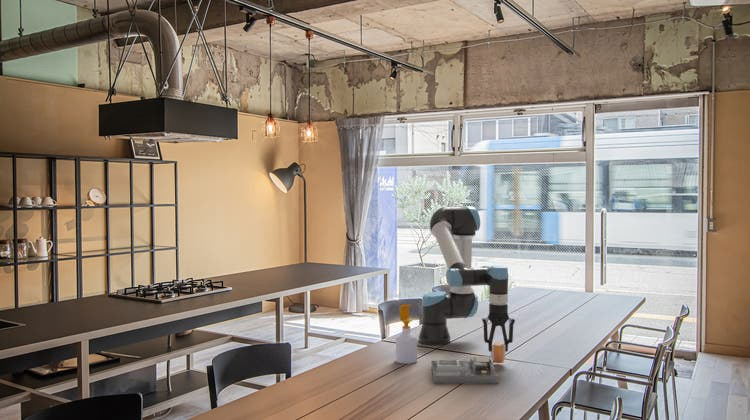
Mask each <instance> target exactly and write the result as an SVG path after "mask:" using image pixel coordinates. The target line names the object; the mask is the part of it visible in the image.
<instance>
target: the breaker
mask: <svg viewBox="0 0 750 420" xmlns="http://www.w3.org/2000/svg"><path fill="white" fill-rule="evenodd" d="M489 357H490V356H489V355H484V356H483V355H482V356H480V355H479V356H478V355H476V356H474V357H473V359H474V361H475V363H487V362H489Z"/></svg>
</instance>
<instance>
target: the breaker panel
mask: <svg viewBox="0 0 750 420" xmlns="http://www.w3.org/2000/svg"><path fill="white" fill-rule="evenodd" d="M473 358H474V357H473V355H469V360H459V359H436V360H431V363H430V364H431V373H432V377H433V382H434V384H441V385H442V384H451V385H452V384H453V385H454V384H459V385H460V384H462V385H463V384H466V385H467V384H469V385H470V384H471V385H472V384H473V385H474V384H475V383H476V384H477V383H478V384H479V383H480V384H482V385H484V384H485V383H492V384H493V383H497V384H498V385H499V384H500V383H499V380H500V379H499V377H500V376H499V374H498V372H497V370H496V368H495V367H494V365H493V364H494V362H493V361H492V359H491V356H489V362H487V363H475V361H474V359H473ZM497 384H496V385H497ZM493 385H494V384H493Z"/></svg>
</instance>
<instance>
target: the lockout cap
mask: <svg viewBox="0 0 750 420" xmlns="http://www.w3.org/2000/svg"><path fill="white" fill-rule="evenodd" d="M493 344H494V360H492V359H491V361H492V363H493V364H494V363H495V364H503V363H504V361H505V360H503V350H504V346H503V344H502V343H500V342H499V343H498V342H497V343H493Z"/></svg>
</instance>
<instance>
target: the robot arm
mask: <svg viewBox="0 0 750 420" xmlns="http://www.w3.org/2000/svg"><path fill="white" fill-rule="evenodd" d="M480 227H481V218H480V214H479V212H478V210H477V208H476V207H474V206H467V205H464V206H443V207H439V208H438V209H436V210H435V211H434V213H433V214H432V216H431V218H430V222H429V230H430V233H431V235H432V236H433V237H434V238H435V239H436V241H437V244H438V246H439V248H440V249H439V250H440V251H441V254H442V256H443V259H444V262H445V264H446V266H447V270H446V274H445V278H446V279H445V280H446V283H447V285H448V286H449V287H451V288H450V289H449V293H448V294H447V292H446V291H445V290H440V291H439V290H438V291H430V292H427V293H425V294H423V295H422V298H421V299H422V301H421V316H422V317H421V322H422V323H421V324H422V325H421V328H420V331H419V335H418V342H419V343H421V344H423V345H429V346H430V345H432V346H433V345H434V346H435V345H436V346H440V345H446V344H449V343H451V335H450V332H449V329H448V326H447V325H448V324H447V320H449V319H450V320H451V319H467V318H473V317H474V316H475V315H476V314H477V312H478V307H479V300H478V299H479V298H478V295H477V293H475V289H473V288H472V286H473V287H474V286H477V287H478V286H489V287H488V289H489V290H488V291H489V293H488V296H489V297H488V299H489V300H488V302H489V304H488V309H489V310H488V312H489V313H488V315H487V317H483V318H481V321H482V323H483V340H484V342H485V344H488V346H487V347H488V348H487V349H488V352H490V359H491V361H492V360H494V344H495V343H494V341H493V340H494V336H495V332H496V328H497V327H500V328H501V332H502V337H503V342H502V343H501V344H503V346H504V350H503V360H504V361H505V360H506V353H507V352H509V344H511V343H512V344H513V340H514V339H513V338H514V325H515V323H516V322H515V321H516V320H515V318H513V317H509V314H508V313H509V312H508V308H509V305H508V301H509V299H508V297H509V268H508V267H507V266H505V265H497V264H496V265H491V266H488V265H482V266H480V267H472V259H473V258H472V256H473V255H472V254H473V253H472V252H473V249H472V248H473V238H474V237H475V236H476V232H478V231H479V230H480ZM489 321H490V323H491V327H490V331H489V332H490V333H489V336H488V323H489ZM507 322H508V323H509V324H508V325H509V326H508V333H507V330H506V323H507ZM507 334H508V335H507Z"/></svg>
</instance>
